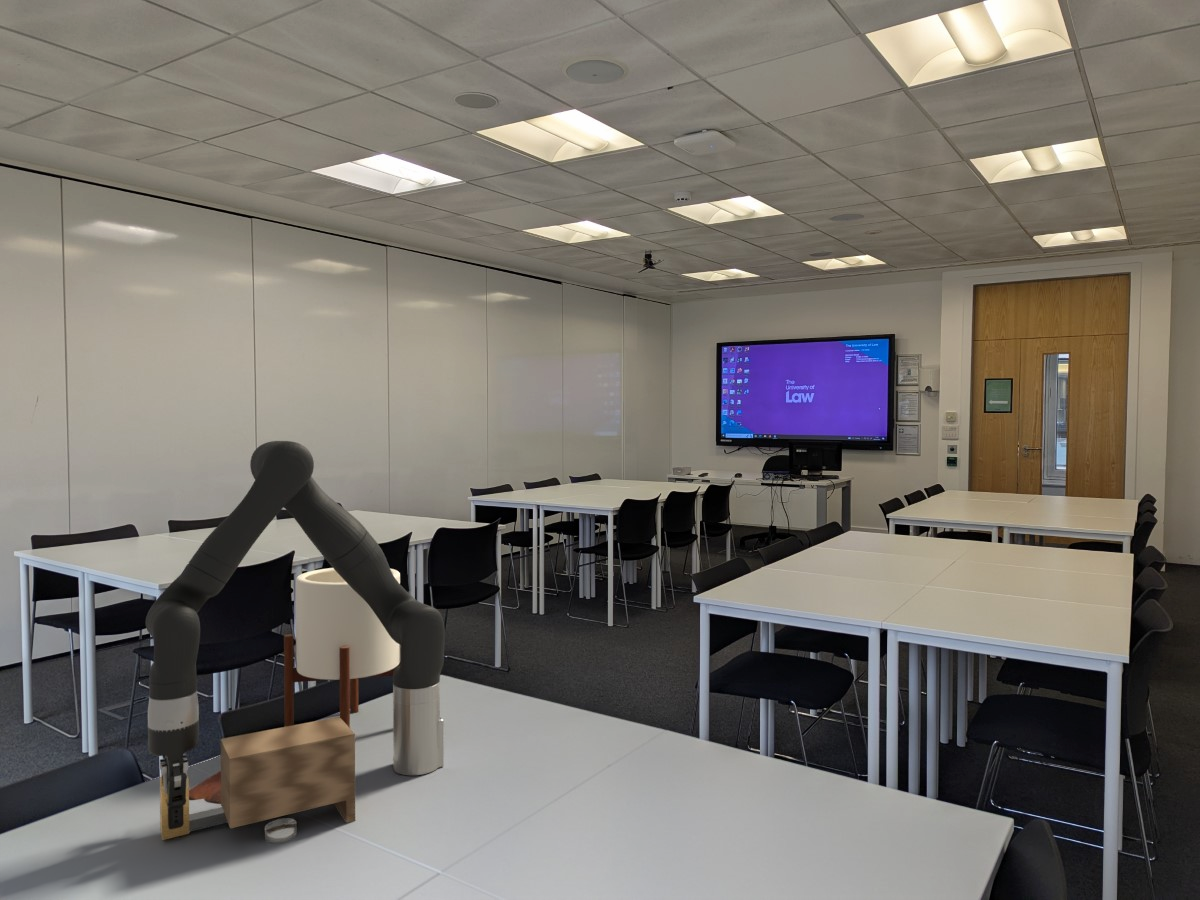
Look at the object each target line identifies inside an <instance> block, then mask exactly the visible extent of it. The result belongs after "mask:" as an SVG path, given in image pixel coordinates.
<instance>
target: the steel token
mask: <svg viewBox="0 0 1200 900" xmlns="http://www.w3.org/2000/svg"><path fill="white" fill-rule="evenodd" d="M297 826H298V823H297V821H296V819H295V818H289V817H287V818H286V817H284V818H278V819H275V820H272V821H270V822H268V823H267V824H265V826H264V841H265V842H266V843H268V844H273V845H276V844H284V843H286V842H289V841H291V840H293V839H294V838H296V837H297V834H298V832H297V830H298V827H297Z"/></svg>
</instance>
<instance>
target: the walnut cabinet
mask: <svg viewBox="0 0 1200 900" xmlns="http://www.w3.org/2000/svg"><path fill="white" fill-rule="evenodd" d="M220 771H221V803H220V805H221V807H222V808H223V811H224V813H225V816H226V819H227V821H228V822H227V824H228V826H229V829H230V830H231V829H234V828H238V827H243V826H246V825H250V824H255V823H258V822H263V821H267V820H270V819H271V820H272V819H275V818H279V817H282V816H287V815H292V814H296V813H299V812H305V811H308V810H311V809H317V808H319V807H320V808H321V807H324V806H328V805H332V804H333V805H334V807H335V808H336V809H337V811H338V813H339V814H340V815H341V817H342V819H343V820H344V822H345V823H346V824H348V823H351V822H352V823H353V822H355V821H356V733H355V731H353V730H352V729H351V727H350V728H349V727H348V726H347V724H346V723H345V722H344V721H343V720H342V719H341V718H340V716H336V717H335V716H334V717H330V718H325V719H319V720H315V721H309V722H304V723H299V724H294V725H292V726H287V727H285V726H283V727H277V728H272V729H267V730H261V731H256V732H250V733H245V734H239V735H235V736H228V737H223V738H220Z"/></svg>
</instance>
